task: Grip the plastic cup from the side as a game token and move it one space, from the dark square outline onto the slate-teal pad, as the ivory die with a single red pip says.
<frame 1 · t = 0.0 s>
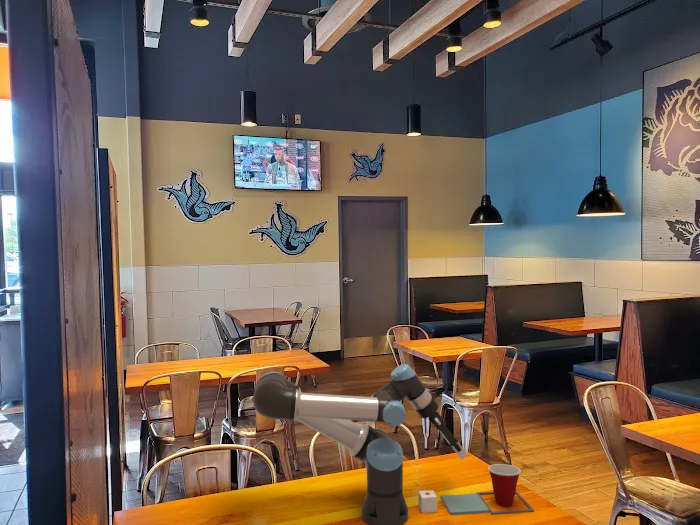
hand: (458, 449, 193), 15 cm above the table, tool tilted 35°, fingers open, 13 cm apart
plastic cup: (504, 503, 186), resting in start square
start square: (504, 502, 186), on the table
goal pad: (464, 504, 185), on the table
die: (427, 508, 182), on the table
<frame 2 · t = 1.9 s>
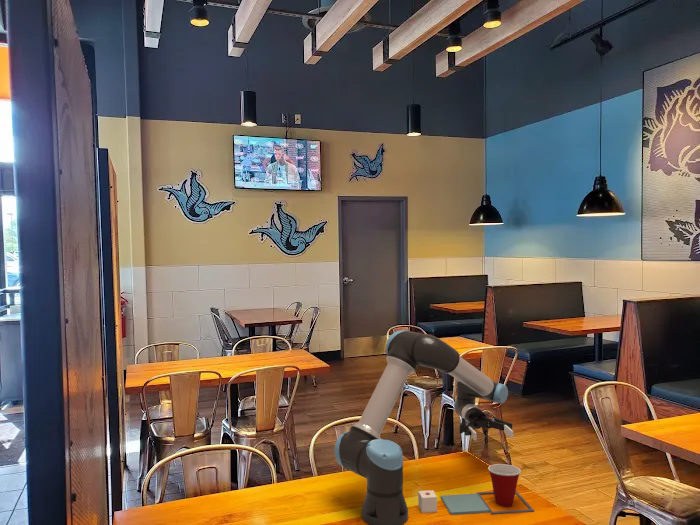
hand: (493, 435, 195), 20 cm above the table, tool horizontal, fingers open, 13 cm apart
nothing on the table moved.
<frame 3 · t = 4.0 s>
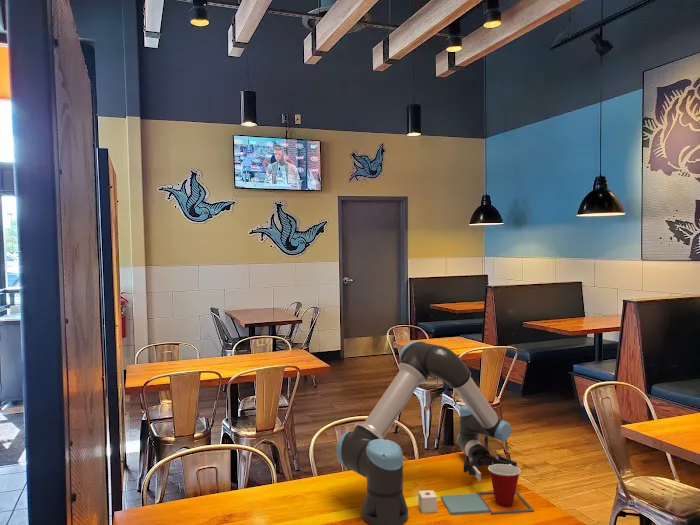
hand: (498, 476, 192), 6 cm above the table, tool horizontal, fingers open, 13 cm apart
nothing on the table moved.
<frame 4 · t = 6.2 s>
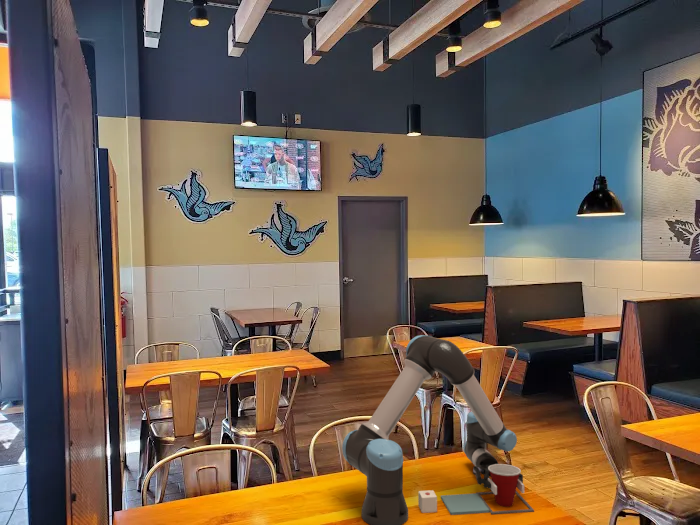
hand: (509, 489, 181), 7 cm above the table, tool horizontal, fingers closed on plastic cup, 9 cm apart
plastic cup: (504, 503, 186), resting in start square, touching gripper
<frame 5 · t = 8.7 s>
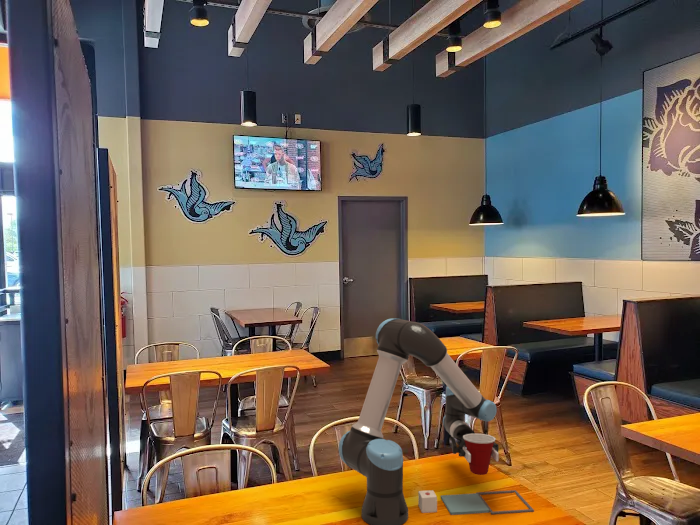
hand: (483, 457, 180), 18 cm above the table, tool horizontal, fingers closed on plastic cup, 9 cm apart
plastic cup: (478, 472, 185), point 11 cm above the table, touching gripper
when the fingers open (9 cm above the table, at t = 11.3 s): plastic cup drops 1 cm, resting on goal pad.
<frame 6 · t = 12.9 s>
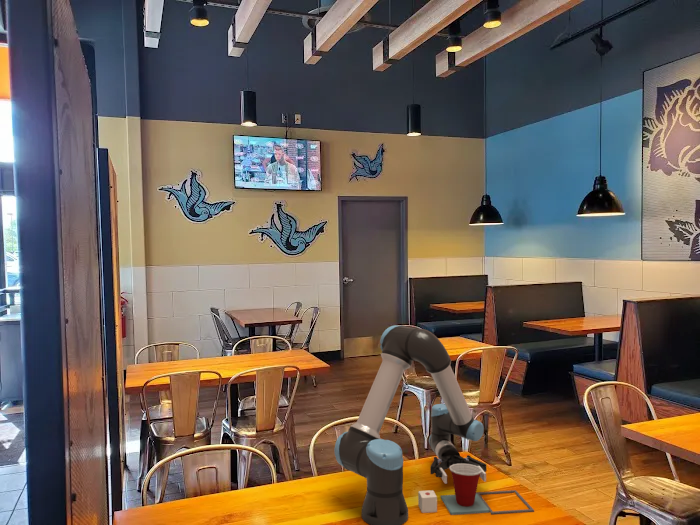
hand: (465, 478, 184), 9 cm above the table, tool horizontal, fingers open, 13 cm apart
plastic cup: (465, 502, 185), point 1 cm above the table, touching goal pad
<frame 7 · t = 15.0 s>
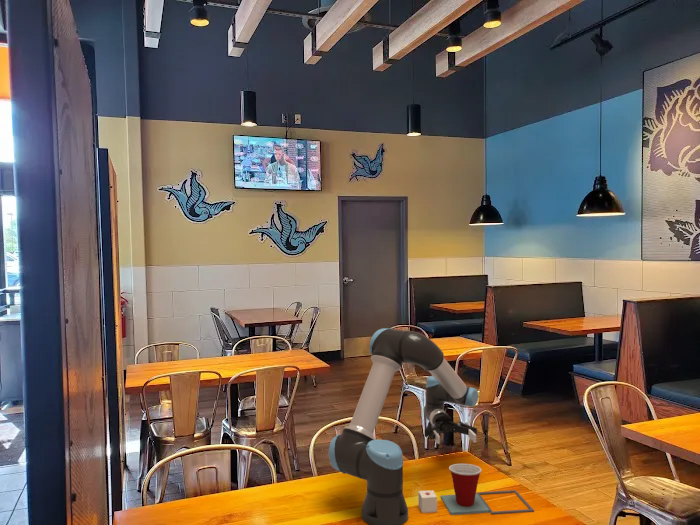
hand: (457, 439, 198), 17 cm above the table, tool horizontal, fingers open, 13 cm apart
nothing on the table moved.
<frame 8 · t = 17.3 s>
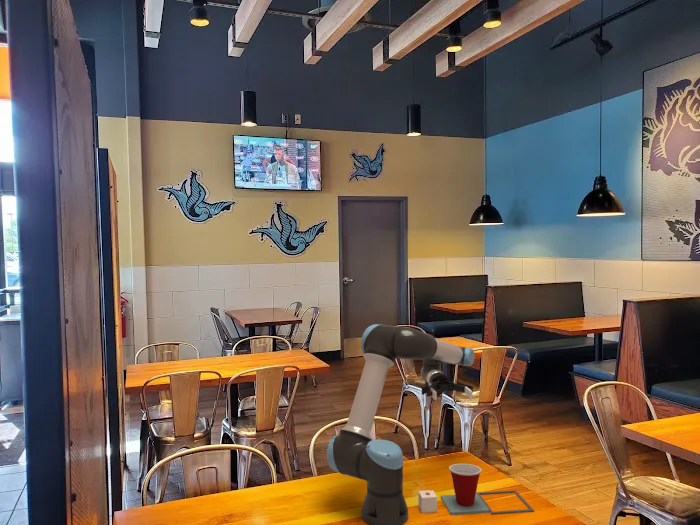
hand: (453, 395, 202), 32 cm above the table, tool horizontal, fingers open, 13 cm apart
nothing on the table moved.
at the end: plastic cup inside the target area (0.3 cm from its centre), point 0.6 cm above the table; plastic cup tilted 0°; the gripper is holding nothing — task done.
